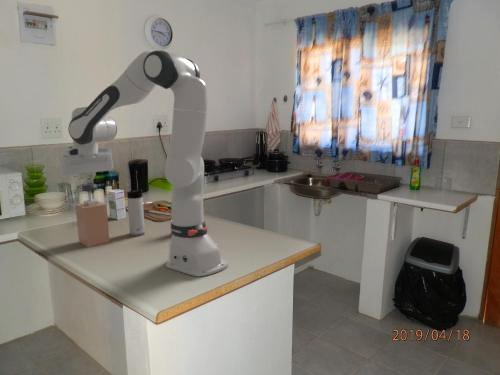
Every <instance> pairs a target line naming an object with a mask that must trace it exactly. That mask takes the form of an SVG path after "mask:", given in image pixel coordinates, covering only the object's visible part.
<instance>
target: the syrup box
mask: <svg viewBox="0 0 500 375" xmlns="http://www.w3.org/2000/svg"><path fill="white" fill-rule="evenodd" d="M107 194H108V205H109V206H108V207H109V218H110V219H112V220H118V221H119V220H123V219H125V218H127V214H126V213H127V211H126V210H125V207H126V202H125V200H126V198H125V191H124V190H123V189H118V188H115V189H109V190H108V191H107Z"/></svg>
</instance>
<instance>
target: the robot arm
mask: <svg viewBox="0 0 500 375" xmlns="http://www.w3.org/2000/svg"><path fill="white" fill-rule="evenodd" d="M200 71H201V70H200V68H199V67H198V64H197V63H195V62H194V61H193V60H191V59H189V58H185V57H183V56H181V55H180V54H177V53H173V52H168V51H164V50H153V51H149V50H148V51H147V50H146V51H143V52H141V53H140V54H139V55H138V56H136V58H134V59H133V60H132V61H131V63H130V64H129V65H127V67H126V69H125V70H124V71H123V73H122V74H120V76H119V77H118V78H117V79H116V80H115V81H114V82H113V83H111V84H109V86H107V87H106V88H105V89H104V90H102V91H101V92H100V93H99V94H98V95H97V96H96V97H95V99H94V100H92V101H91V103H90V104H89V105H88V106H86V107H77V108H75V109H73V111H72V113H71V119H70V121H69V124H68V134H69V136H70V137H71V139H72V143H73V145H70V146H68V147H65V148H63V149H61V150H60V154H61V156H60V159H59V173H60V174H61V175H62V176H73V175H80V176H81V178H82V179H83V181H84V182H83V183H84V184H95V182H94V179H95V177H96V175H97V174H96V173H100V172H108V171H113V169H114V168H115V167H114V161H113V158H112V157H113V151H112V149H110V148H107V147H104V148H99V145H98V143H102V142H103V143H104V142H108V141H109V142H110V141H112V140H114V139H115V137H116V135H117V132H118V126H117V124H116V121H115V120H114V118H112V117H110V116H107V115H108V114H109V113H110V112H111V111H113V110H115V109H117V108H120V107H124V106H128V105H129V106H130V105H135V104H140V102H142V101H144V100H145V99H146V98H147V97H148V96H149V95H150V94H151V92H152V91H153V90H154V89H155V88H156V86H159V87H161V88H163V89H165V90H168V89H170V90H171V91H172V93H173V98H174V99H173V109H172V111H173V112H172V121H171V122H172V125H171V126H172V127H171V134H170V140H169V144H168V148H167V155H166V162H165V165H164V166H165V167H164V177H165V179H166V180H167V182H168V183H169V184H170V185H172V193H171V199H170V202H171V213H172V222H170V233H171V238H170V241H169V243H168V261H167V262H166V264H165V267H166V268H168V269H171V270H174V271H177V272H180V273H184V274H185V275H186V274H187V275H190V276H194V277H203V276H209V275H212V274H216V273H218V272H220V271H223V270H225V269H226V268H227V267H229V263H228V262H227V261H226V260H224V259H223V258H222V256H221V248H220V247H219V244H218V243H215V241H214V240H213V239H212V237H211V236H210V235H209V234H208V230H209V229H208V228H209V226H207V224H206V221H205V220H204V190H205V188H204V187H205V162H204V159H203V157H202V152H203V146H204V142H205V141H204V140H205V136H206V126H207V125H206V124H207V113H208V112H207V111H208V92H207V84H206V83H205V81H204V80H203V79H201V72H200ZM87 174H90V178H89V179H88V178H87Z"/></svg>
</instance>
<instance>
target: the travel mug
mask: <svg viewBox="0 0 500 375" xmlns="http://www.w3.org/2000/svg"><path fill="white" fill-rule="evenodd" d="M143 191H144V190H143V189H133V190H130V191H126V194H127V196H126V197H127V206H128V211H127V212H128V226H129V235H130V236H131V237H140V236H143V235H145V234H146V232H145V230H146V228H145V217H144V213H143V203H144V198H143Z"/></svg>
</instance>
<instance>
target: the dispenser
mask: <svg viewBox="0 0 500 375" xmlns="http://www.w3.org/2000/svg"><path fill="white" fill-rule="evenodd" d="M92 200H93V201H91V202H89V199H85V200H83V202H82V203H76V204H75V213H76V222H77V223H76V224H77V234H78V243H79V244H81V245H83V246H85V247H87V248H91V247H94V246H99V245H102V244H106V243H107V244H108V243H110V242H111V240H110V232H109V231H110V229H109V219H108V218H109V217H108V205H107V203H104V202H101V201H99V200H98V199H93V198H92Z"/></svg>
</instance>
